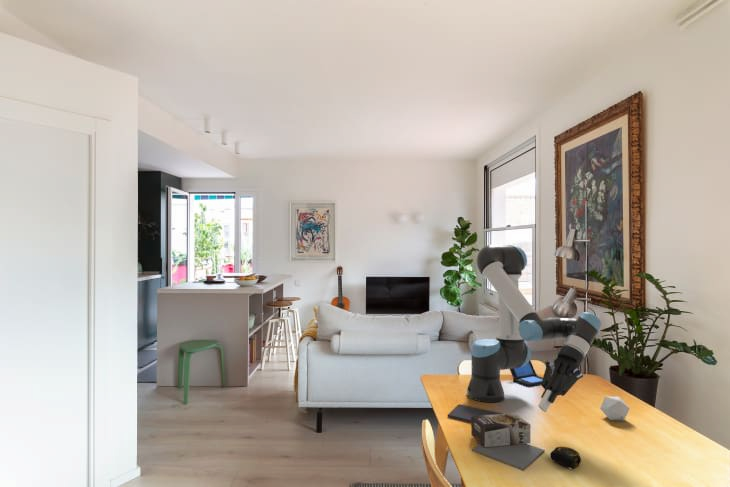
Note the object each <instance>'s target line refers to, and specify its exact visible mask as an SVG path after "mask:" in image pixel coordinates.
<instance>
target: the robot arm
mask: <svg viewBox="0 0 730 487" xmlns="http://www.w3.org/2000/svg"><path fill="white" fill-rule="evenodd" d="M527 264H528V258H527V254H526V252H525V251H524V249H522V247H520V246H518V245H512V244H506V245H505V244H489V245H485V246H484V247H482V248H481V249H480V250H479V251H478V253H477V256H476V266H477V269H478V271H479V273H480V274H481V276H482V277H483V278H484V279H487V281H489V283H490V284H491V285H492V287H493V289H494V291H495V292H496V293H497V295H498V320H499V324H498V325H499V333H498V334H497V335H496V337H495V338H496V339H493V338H482V339H477V340H475V341H473V342H472V344H471V351H470V354H471V375H470V376H471V377H470V380H469V383H468V386H467V391H466V392H467V393H466V394H468V395H467V396H468V397H469V398H470V397H471V398H470V399H472V398H473V399H472V400H474V399H476V400H475V401H477V400H480V401H479V402H482V401H485V402H484V403H499V401H500V402H503V401H504V399H505V391H504V387H503V385H502V382H501V371H504V370H510V369H513V368H514V369H516V368H520V367H523V366H525V365H526V364H527V363H528V362H529V360H530V361H531V356H532V355H531V354H532V353H531V352H532V351H531V346H529V344H528V342H538V341H544V340H545V341H546V340H557V339H565V340H564V342H563V344H562V346H561V348H560V350H559V351H558V353H557V357H556V358H555V359H553V361H552V362H549V361H546V362H545V370H544V374H543V377H542V378H543V380H542V384H541V387H542V388H543V389H544V390H543V392H542V395H541V396H540V398H541V400H540V402H539V404H538V405H537V407H538V408H539V409H540V410H541V411H542V412H544V413H547V412H548V409H549V407H550V405H551V404H554V403H555V401H556V399H557V397H558V396H561V397H563V396H565V395H566V394H567V393H568V392H569V391H570V390H571V389H572V388H573V386H574V385H575V384H576V383H577V381H578V380H580V379H582V378H583V377H584V374H583V373H582V372H581V370H579V369H580V366H581V365H582V363H583V361H584V360H585V358H586V355H587V353H588V352H589V350H590V347H592V344H593V342H594V340H595V339H596V337H597V336H598V334H599V332H600V329H601V326H602V321H601V319H600V318H599V317H598V316H597V315H596V314H593V313H591V312H588V311H587V312H586V311H584V312H582V313H579V315H578V316H577V318H567V317H565V318H564V317H558V316H556V317H555V316H553V317H547V318H541V317H540V315H539V314H538V313H537V311H536V310H535V309H534V308H533V306H532V305H531V303H530V302H529V301H528V300H527V298H526V297H525V296H524V294H523V293H522V291H520V288H519V279H520V278H521V276H522V274H523V272H522V271H523V270H525V269H526V267H527Z"/></svg>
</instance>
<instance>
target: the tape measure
mask: <svg viewBox="0 0 730 487" xmlns="http://www.w3.org/2000/svg"><path fill="white" fill-rule="evenodd" d="M550 460H551V461H553V462H555V463H557V464H559V465H562V466H563V467H567V468H568V469H571V470H574V469H575V468H577V467H578V466H579V465H580V464H581V462H582V459H581V455H580V454H579V451H577V450H576V449H574V448H571V447H568V446H557V447H555V448H554V449H553V450H552V451H551V452H550Z"/></svg>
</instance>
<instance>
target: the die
mask: <svg viewBox="0 0 730 487" xmlns="http://www.w3.org/2000/svg"><path fill="white" fill-rule="evenodd" d="M599 408H600V410H601V411H602V412H603V414H604V415H605V416H606V417H607V418H608V419H609V421H625V419H626V418H627V415H628V413H629V411H630V409H631V408H630V407H629V406H628V405H627V403H625V401H623V399H622V398H621V397H620V396H604V398H603V401H602V403H601V405H600V406H599Z"/></svg>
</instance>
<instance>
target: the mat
mask: <svg viewBox="0 0 730 487" xmlns="http://www.w3.org/2000/svg"><path fill="white" fill-rule="evenodd" d="M471 451H472V452H475V453H477V454H479V455H482V456H485V457H487V458H490V459H492V460H495V461H497V462H500V463H503V464H504V465H508V466H511V467H513V468H516V469H518V470H520V471H523V472H524V471H525V470H526V469H527V468H529V466H530V465H532V463H533V462H535V461H536V460H537V459H538V458H539V457H540V456H541V455H543V453H545V449H543V448H540V447H536V446H534V445H531V444H530V443H527V444H516V445H505V446H494V447H484V446H483V445H481V444H480V443H479V444H477V445H475V446H474V447H473V448H471Z"/></svg>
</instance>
